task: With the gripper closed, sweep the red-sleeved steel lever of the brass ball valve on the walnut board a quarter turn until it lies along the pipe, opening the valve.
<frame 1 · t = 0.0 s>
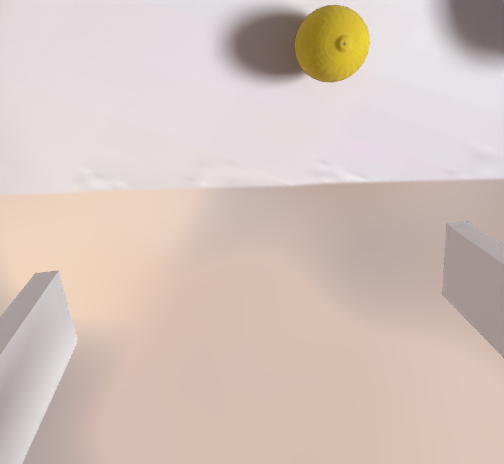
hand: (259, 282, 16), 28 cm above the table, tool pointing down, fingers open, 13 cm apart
lemon: (318, 45, 40), on the table
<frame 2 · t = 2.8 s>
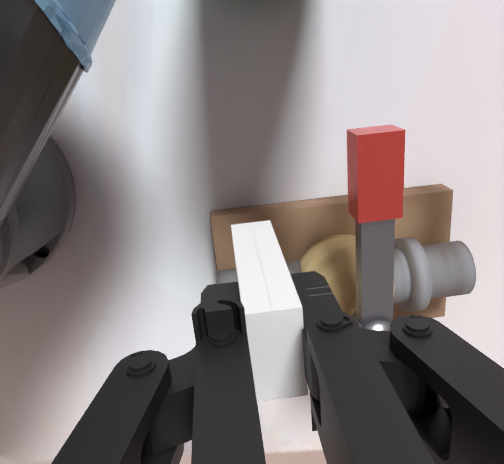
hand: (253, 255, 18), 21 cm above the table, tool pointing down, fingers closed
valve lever: (374, 254, 28), point 12 cm above the table, hinge at 90.0°
valve rig: (329, 261, 42), on the table
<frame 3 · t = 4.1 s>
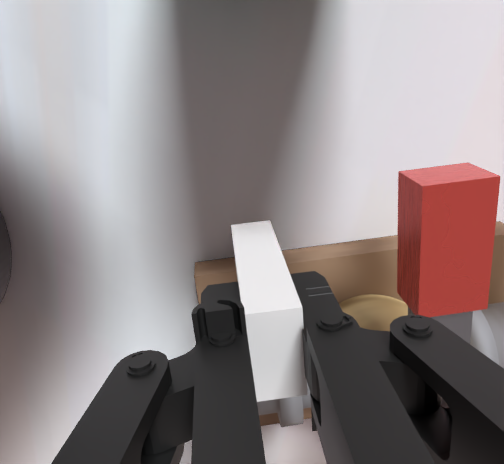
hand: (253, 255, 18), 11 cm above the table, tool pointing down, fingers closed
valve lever: (437, 355, 19), point 12 cm above the table, hinge at 90.0°
valve rig: (352, 321, 32), on the table
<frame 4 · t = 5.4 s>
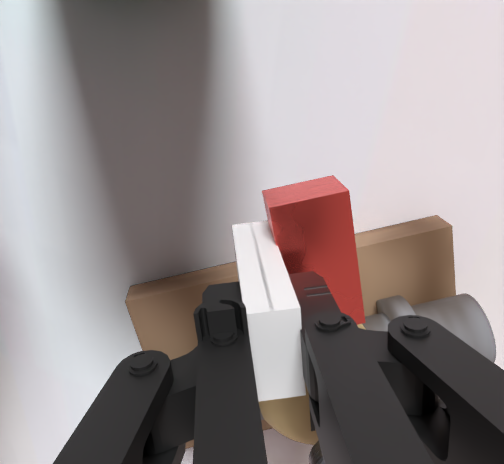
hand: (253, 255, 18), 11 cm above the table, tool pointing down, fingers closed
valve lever: (332, 370, 18), point 12 cm above the table, hinge at 89.3°, touching gripper
valve rig: (299, 328, 32), on the table
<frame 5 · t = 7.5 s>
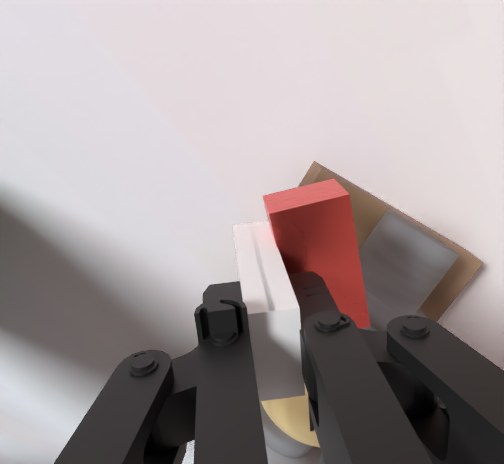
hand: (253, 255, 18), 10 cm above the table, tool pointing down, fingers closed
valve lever: (338, 374, 18), point 12 cm above the table, hinge at 43.2°, touching gripper
valve rig: (308, 330, 32), on the table
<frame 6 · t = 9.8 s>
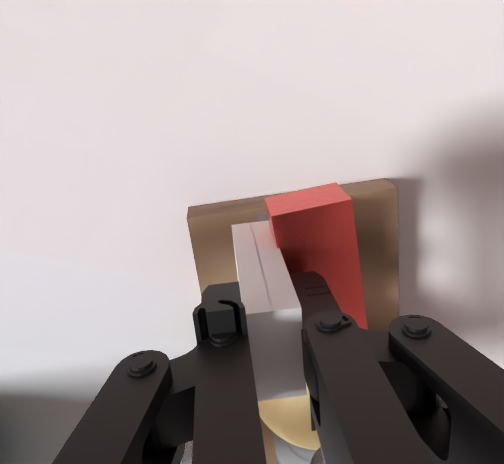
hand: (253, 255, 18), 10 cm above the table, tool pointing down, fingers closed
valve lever: (334, 378, 18), point 12 cm above the table, hinge at 3.9°, touching gripper
valve rig: (301, 332, 32), on the table
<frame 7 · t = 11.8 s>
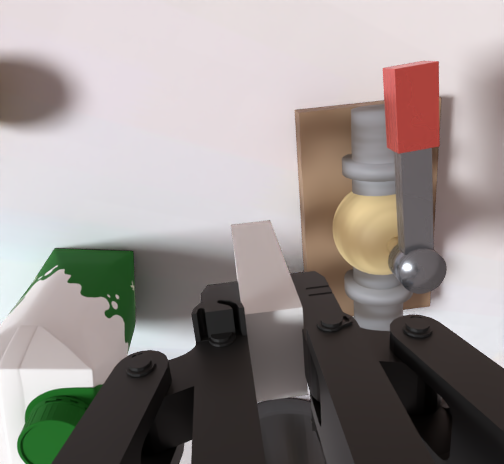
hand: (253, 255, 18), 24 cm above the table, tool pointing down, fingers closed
milk carton: (95, 281, 44), on the table
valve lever: (413, 185, 31), point 12 cm above the table, hinge at 3.9°
valve rig: (363, 211, 44), on the table
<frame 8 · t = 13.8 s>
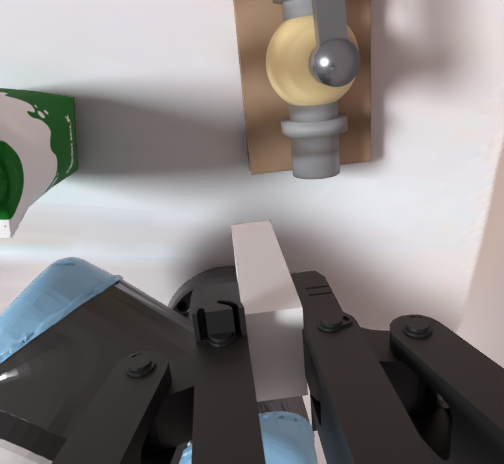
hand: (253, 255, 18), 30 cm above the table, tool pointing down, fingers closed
milk carton: (37, 131, 45), on the table
valve rig: (302, 60, 45), on the table
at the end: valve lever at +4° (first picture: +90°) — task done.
